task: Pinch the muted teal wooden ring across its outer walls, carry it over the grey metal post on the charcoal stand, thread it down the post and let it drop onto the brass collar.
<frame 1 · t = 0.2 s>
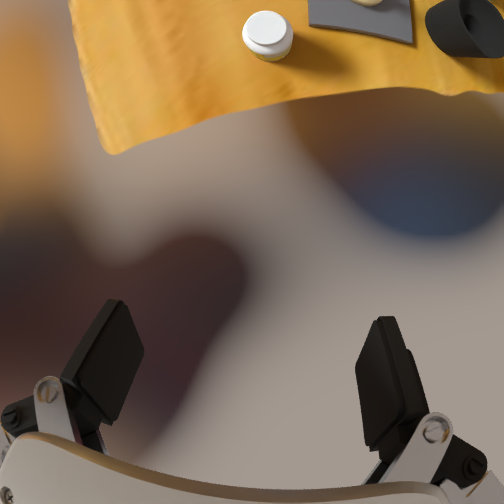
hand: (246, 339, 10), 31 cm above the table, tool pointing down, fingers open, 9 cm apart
pen holder: (446, 31, 22), on the table
supplement bottle: (270, 44, 28), on the table
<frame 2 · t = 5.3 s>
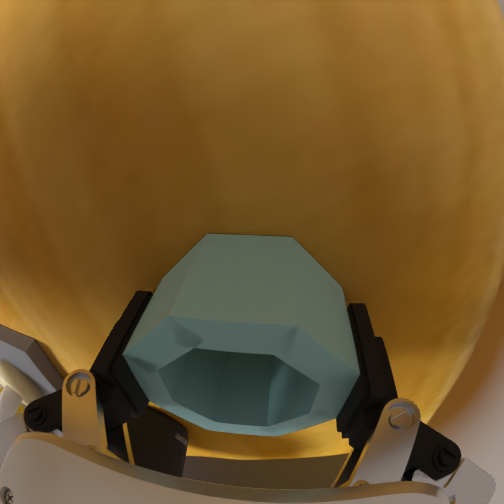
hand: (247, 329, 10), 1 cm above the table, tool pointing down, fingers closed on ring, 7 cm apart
pen holder: (144, 418, 20), on the table
post stand: (27, 368, 20), on the table
ring: (250, 311, 11), on the table, touching gripper
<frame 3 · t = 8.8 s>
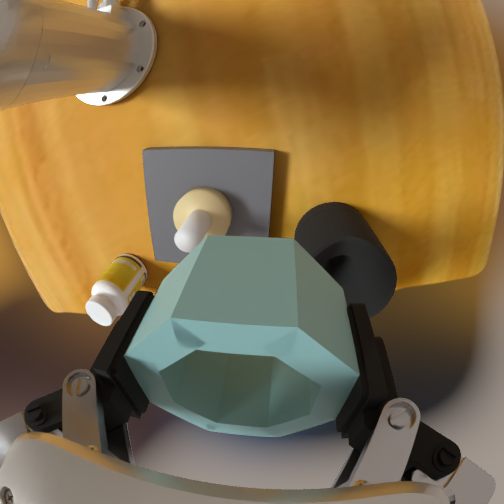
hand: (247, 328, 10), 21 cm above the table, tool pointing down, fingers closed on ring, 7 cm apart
pen holder: (331, 235, 32), on the table
post stand: (208, 207, 31), on the table
supplement bottle: (132, 268, 38), on the table
ring: (251, 312, 11), point 20 cm above the table, touching gripper
when the fingers open (6 cm above the table, at t = 12.5 s): ring drops 1 cm, resting on post stand.
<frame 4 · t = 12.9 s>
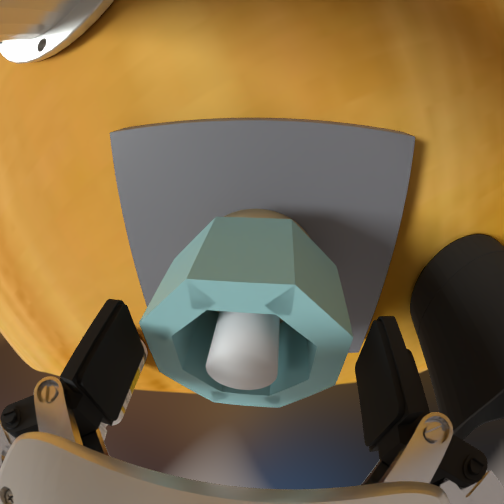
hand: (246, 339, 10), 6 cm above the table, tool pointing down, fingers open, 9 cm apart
pen holder: (457, 283, 16), on the table
post stand: (259, 248, 15), on the table
supplement bottle: (122, 339, 22), on the table
ring: (253, 289, 13), point 3 cm above the table, touching post stand
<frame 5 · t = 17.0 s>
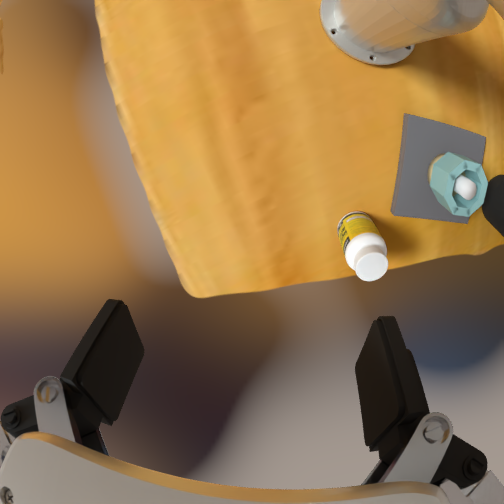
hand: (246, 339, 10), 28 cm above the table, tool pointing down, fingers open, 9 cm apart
pen holder: (496, 197, 32), on the table
post stand: (439, 170, 31), on the table
supplement bottle: (354, 227, 38), on the table
ring: (451, 178, 28), point 3 cm above the table, touching post stand
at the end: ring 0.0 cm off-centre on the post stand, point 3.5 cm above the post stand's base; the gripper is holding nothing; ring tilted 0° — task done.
